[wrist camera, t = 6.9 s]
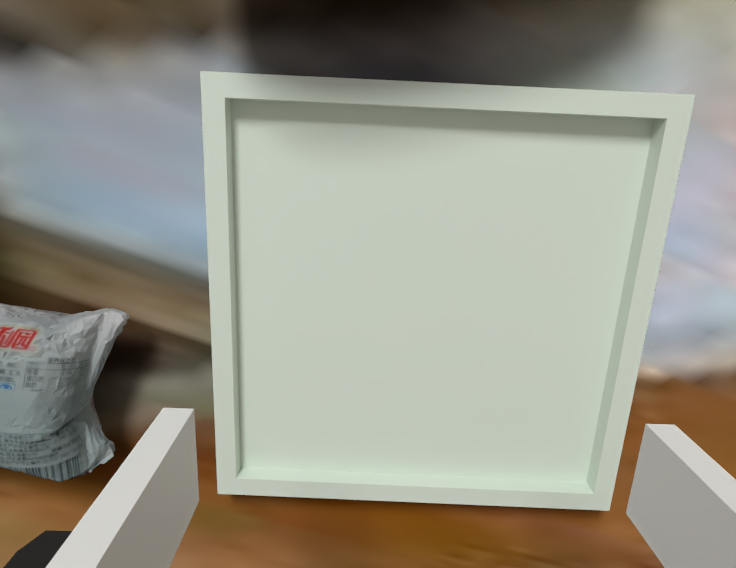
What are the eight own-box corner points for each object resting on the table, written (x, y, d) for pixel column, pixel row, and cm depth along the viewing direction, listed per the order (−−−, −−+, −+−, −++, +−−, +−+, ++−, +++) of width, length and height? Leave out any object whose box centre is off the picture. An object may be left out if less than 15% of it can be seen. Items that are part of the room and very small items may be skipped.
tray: (225, 475, 28) (217, 493, 27) (210, 75, 23) (200, 71, 21) (597, 492, 29) (609, 510, 27) (675, 97, 23) (695, 94, 21)
